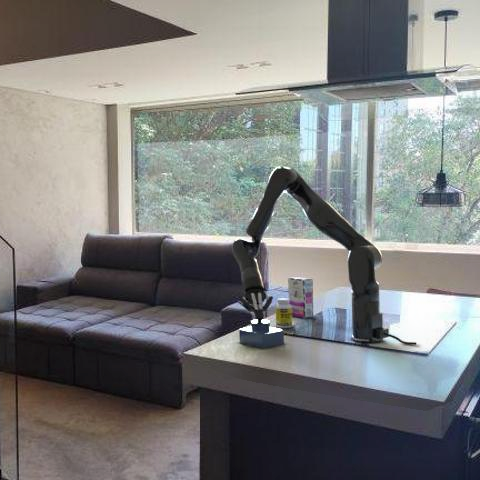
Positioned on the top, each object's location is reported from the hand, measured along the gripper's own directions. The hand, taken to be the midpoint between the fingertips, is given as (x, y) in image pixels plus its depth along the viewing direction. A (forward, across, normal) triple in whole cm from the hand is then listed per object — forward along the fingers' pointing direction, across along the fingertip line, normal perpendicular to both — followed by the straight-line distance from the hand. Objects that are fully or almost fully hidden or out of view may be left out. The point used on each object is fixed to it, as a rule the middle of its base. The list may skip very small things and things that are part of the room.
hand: (260, 319), depth 213 cm
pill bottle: (-9, +14, +20) cm, 26 cm away
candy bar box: (-23, +26, +33) cm, 48 cm away
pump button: (+2, 0, +2) cm, 3 cm away
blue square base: (+8, -1, +3) cm, 9 cm away
